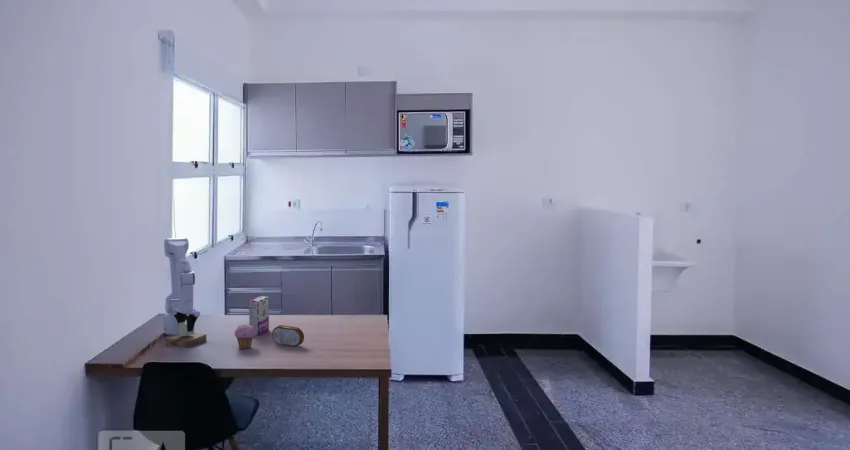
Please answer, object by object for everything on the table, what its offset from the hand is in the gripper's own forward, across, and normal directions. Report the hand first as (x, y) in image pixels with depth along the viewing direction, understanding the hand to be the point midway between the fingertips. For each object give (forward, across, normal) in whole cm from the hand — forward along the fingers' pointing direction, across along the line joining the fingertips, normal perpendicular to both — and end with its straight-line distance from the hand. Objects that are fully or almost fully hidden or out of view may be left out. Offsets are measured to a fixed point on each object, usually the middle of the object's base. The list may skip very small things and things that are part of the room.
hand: (186, 330), depth 268 cm
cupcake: (+6, -26, -9) cm, 28 cm away
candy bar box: (+6, -14, -31) cm, 34 cm away
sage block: (+2, 0, 0) cm, 2 cm away
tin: (+6, -38, -22) cm, 44 cm away
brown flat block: (+6, 0, 0) cm, 6 cm away
